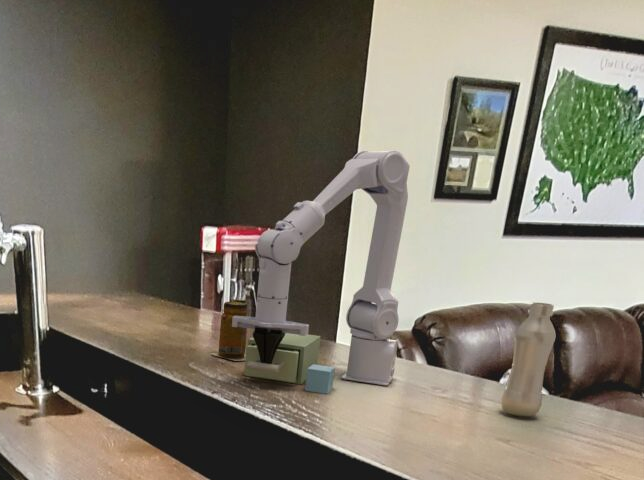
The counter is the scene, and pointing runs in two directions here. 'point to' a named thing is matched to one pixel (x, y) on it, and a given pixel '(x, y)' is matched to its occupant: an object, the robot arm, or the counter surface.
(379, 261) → the robot arm
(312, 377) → the light blue cube
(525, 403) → the plastic bottle
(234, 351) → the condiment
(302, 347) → the green drawer cabinet
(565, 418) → the counter surface
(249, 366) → the green drawer
